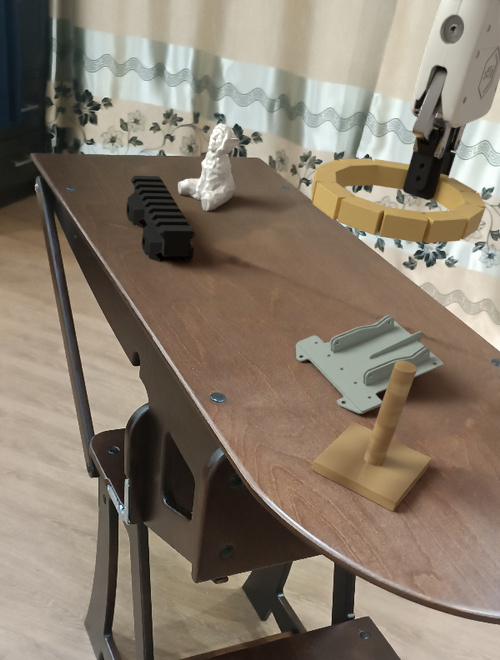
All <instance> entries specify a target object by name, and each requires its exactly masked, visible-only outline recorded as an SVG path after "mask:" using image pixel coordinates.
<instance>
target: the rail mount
mask: <svg viewBox="0 0 500 660" xmlns="http://www.w3.org/2000/svg"><path fill="white" fill-rule="evenodd" d="M130 183H132V185H133V187H134V189H133V190H134V192H132V193H131V194H130V195H129V196H128V197H127V201H126V211H125V212H126V217H127V219H128V221H129V222H131V221H132V222H131V223H132V225H133V224H134V226H136V225H137V227H140V228H142V234H141V247H142V248H141V249H142V251H143V253H144V254H146V255H147V257H148V258H149V259H151V260H154V261H156V262H160V261H161V260H160V257H159V256H158V254H160V253H161V255H162V256H163V257H183V259H184V261H185V262H186V263H190V262H192V261H193V259H194V253H195V247H194V246H193V244H192V242H191V241H192V240H193V239H194V237H195V236H196V233H195V231H194V229H193V228H192V227H191V225H190V223H189V221H188V220H187V218H186V216H185V215H184V214H183V211H182V210H181V209H180V208H179V205H178V204H177V202H176V201H175V199H174V197H173V196H172V194H171V192H170V191H169V189H168V187H167V185H166V184H165V182H164V181H163V179H162V178H161V177H160V176H159V175H158V176H157V175H155V176H154V175H133V176H132V177H131V179H130ZM142 220H144V221H145V223H146V226H144V225H143V224H142V222H141V221H142Z"/></svg>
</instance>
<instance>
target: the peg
mask: <svg viewBox="0 0 500 660" xmlns="http://www.w3.org/2000/svg"><path fill="white" fill-rule="evenodd" d="M416 371H417V367H416V366H415V365H414V364H412V363H410V362H407V361H397V362H396V363H395V365H394V368H393V371H392V374H391V377H390V380H389V383H388V386H387V389H386V390H385V393H384V396H383V399H382V400H381V401H382V404H381V406H379V407H380V408H379V411H378V413H377V417H376V420H375V423H374V426H373V429H371V428H369V427H367V426H364V425H362V424H360V423H358V422H356V421H353V422H352V423H351V424H350V425H349V426H348V427H346V429H344V431H343V432H341V434H340V435H338V437H336V439H334V440H333V441H332V442H331V443H330V444H329V445H328V446H327V447H326V448H325V449H324V450H323V451H322V452H321V453H320V454H319V455H318V456H317V457H315V459H314V460H313V462H312V467H311V470H312V471H313V472H315V473H317V474H318V475H321V476H322V477H324V478H327V479H328V480H330V481H333V482H335V483H337V484H339V485H340V486H342V487H344V488H346V489H347V490H350V491H352V492H354V493H355V494H358V495H360V496H362V497H364V498H366V499H368V500H370V501H372V502H374V503H375V504H377V505H379V506H381V507H382V508H385V509H387V510H389V511H391V512H394V511H395V510H396V508H398V506H399V505H400V503H401V502H402V501H403V500H404V498H405V497H406V496H407V495H408V493H409V492H410V491H411V490H412V488H414V486H415V484H416V483H417V482H418V481H419V479H420V478H421V477H422V476H423V474H425V472H426V471H427V469H429V466H430V464H431V461H432V457H430V456H428V455H426V454H424V453H421V452H419V451H418V450H415V449H413V448H411V447H410V446H409V447H408V446H407V445H404V444H403V443H400V442H399V441H396V440H394V439H393V438H394V435H395V433H396V429H397V427H398V423H399V421H400V418H401V415H402V413H403V410H404V407H405V404H406V402H407V398H408V396H409V393H410V390H411V388H412V386H413V381H414V379H415V377H414V376H415V374H416Z"/></svg>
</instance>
